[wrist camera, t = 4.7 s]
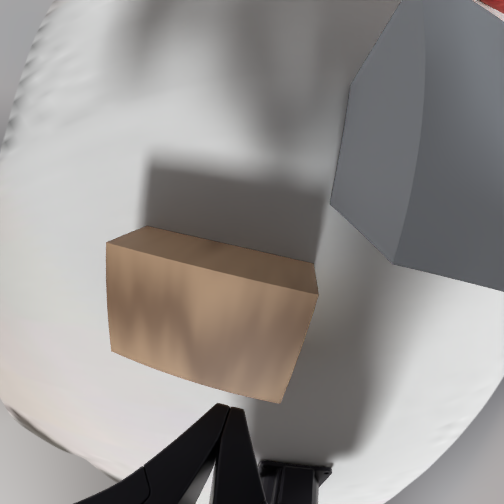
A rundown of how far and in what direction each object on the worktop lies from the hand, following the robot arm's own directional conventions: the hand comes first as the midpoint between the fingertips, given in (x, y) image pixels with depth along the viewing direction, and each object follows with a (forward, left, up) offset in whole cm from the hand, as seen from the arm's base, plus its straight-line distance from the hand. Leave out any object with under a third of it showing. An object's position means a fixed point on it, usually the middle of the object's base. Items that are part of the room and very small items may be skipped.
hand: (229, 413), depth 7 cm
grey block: (+9, -4, -8) cm, 12 cm away
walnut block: (0, -2, -6) cm, 6 cm away
